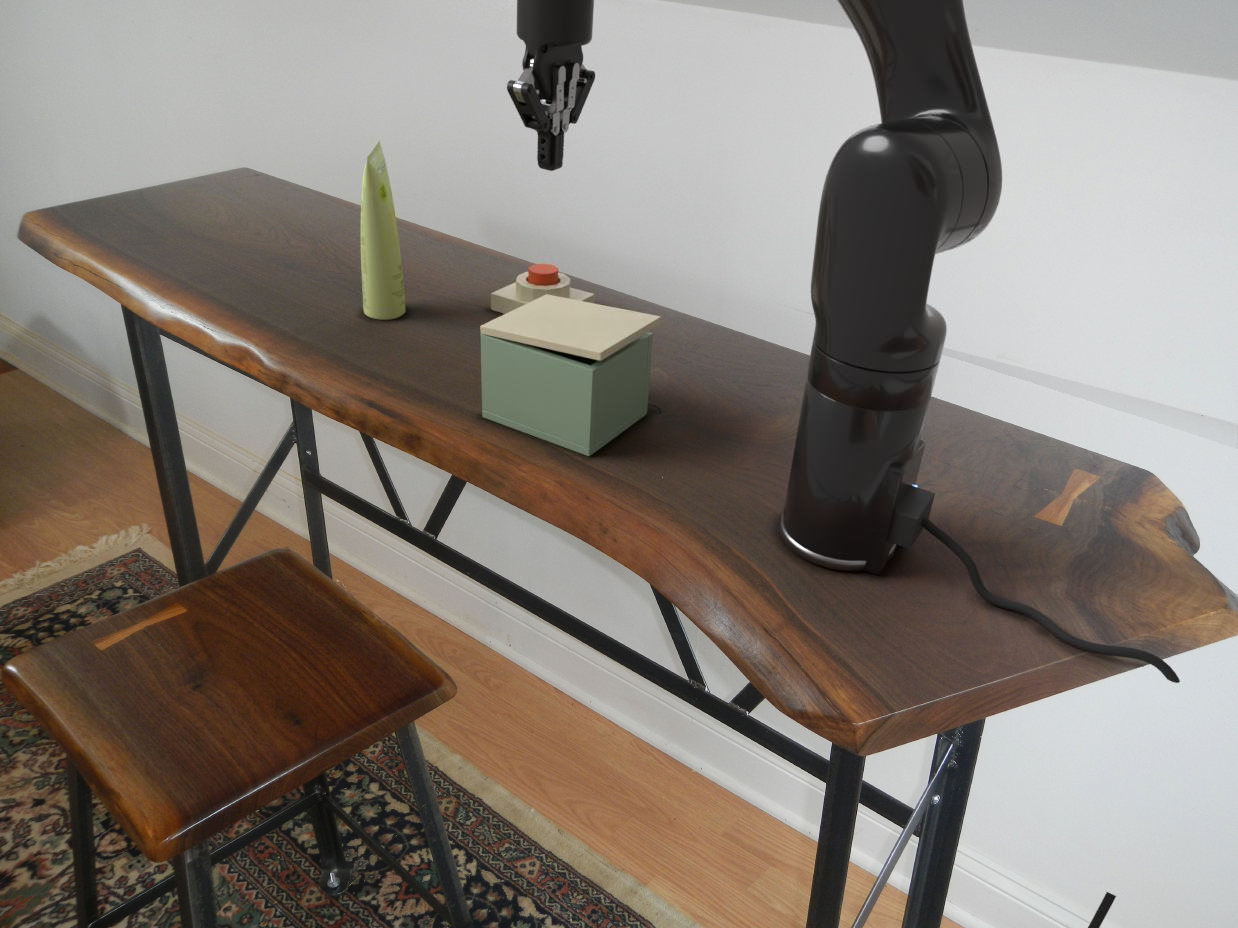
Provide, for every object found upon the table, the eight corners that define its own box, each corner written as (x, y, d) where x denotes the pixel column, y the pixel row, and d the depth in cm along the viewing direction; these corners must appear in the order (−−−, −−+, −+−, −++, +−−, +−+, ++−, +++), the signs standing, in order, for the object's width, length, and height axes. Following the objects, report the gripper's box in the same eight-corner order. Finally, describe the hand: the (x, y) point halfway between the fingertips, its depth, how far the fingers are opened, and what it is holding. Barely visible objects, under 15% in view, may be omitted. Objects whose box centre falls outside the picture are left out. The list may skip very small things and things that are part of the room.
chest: (647, 414, 96) (653, 333, 92) (589, 456, 88) (592, 370, 84) (545, 380, 102) (546, 302, 97) (482, 417, 94) (480, 334, 89)
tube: (417, 316, 115) (407, 149, 104) (380, 326, 111) (366, 155, 101) (391, 302, 118) (379, 139, 108) (354, 311, 115) (339, 144, 105)
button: (563, 282, 117) (564, 268, 116) (546, 290, 114) (546, 276, 113) (540, 275, 119) (540, 261, 118) (522, 283, 116) (522, 269, 115)
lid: (661, 324, 91) (661, 316, 90) (600, 361, 83) (600, 352, 82) (546, 301, 97) (546, 294, 97) (480, 334, 89) (479, 325, 89)
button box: (594, 310, 119) (595, 280, 117) (557, 330, 113) (558, 298, 111) (529, 292, 123) (529, 262, 121) (490, 310, 117) (490, 279, 115)
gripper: (548, -3, 86) (543, 188, 96) (623, -10, 96) (612, 163, 105) (482, -13, 89) (483, 173, 99) (562, -19, 99) (556, 150, 108)
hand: (550, 168), depth 102 cm, fingers closed
